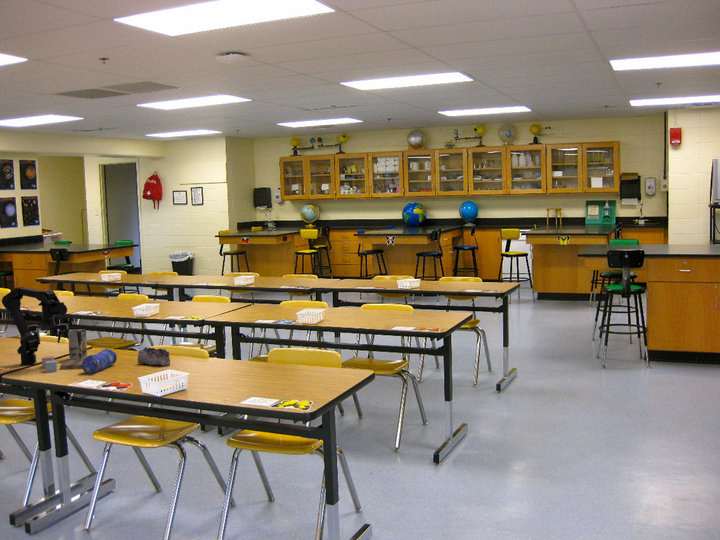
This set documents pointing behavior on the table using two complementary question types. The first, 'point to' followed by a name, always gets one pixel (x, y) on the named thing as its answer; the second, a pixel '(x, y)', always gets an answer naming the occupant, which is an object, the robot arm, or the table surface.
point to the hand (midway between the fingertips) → (49, 343)
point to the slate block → (51, 366)
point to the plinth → (72, 364)
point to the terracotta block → (46, 358)
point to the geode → (154, 357)
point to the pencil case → (99, 361)
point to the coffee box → (77, 344)
